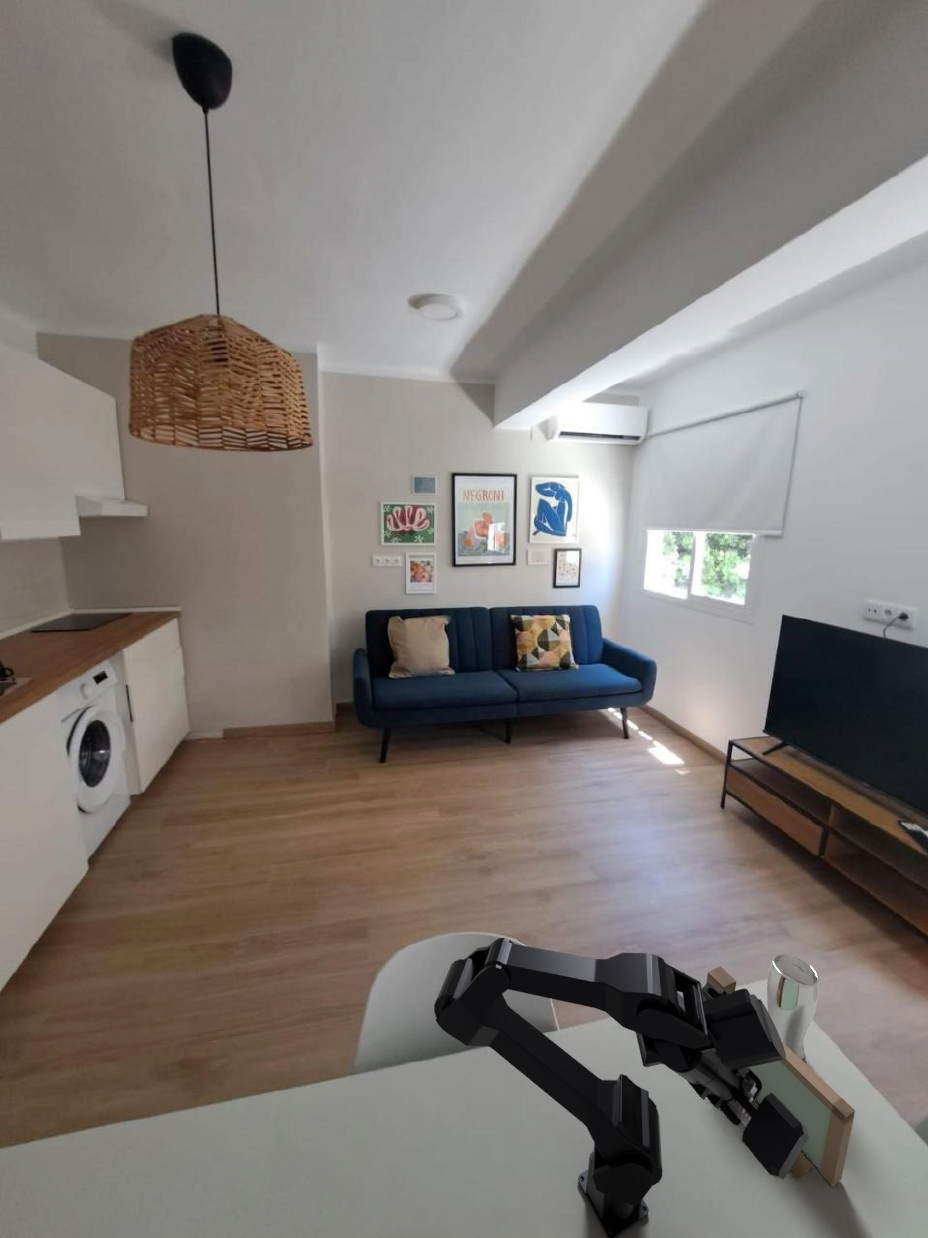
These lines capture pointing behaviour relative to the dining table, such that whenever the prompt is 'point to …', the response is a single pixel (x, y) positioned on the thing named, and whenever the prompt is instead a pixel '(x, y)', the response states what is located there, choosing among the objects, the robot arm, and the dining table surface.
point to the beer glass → (792, 999)
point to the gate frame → (801, 1163)
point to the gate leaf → (811, 1110)
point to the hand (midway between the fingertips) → (743, 1090)
